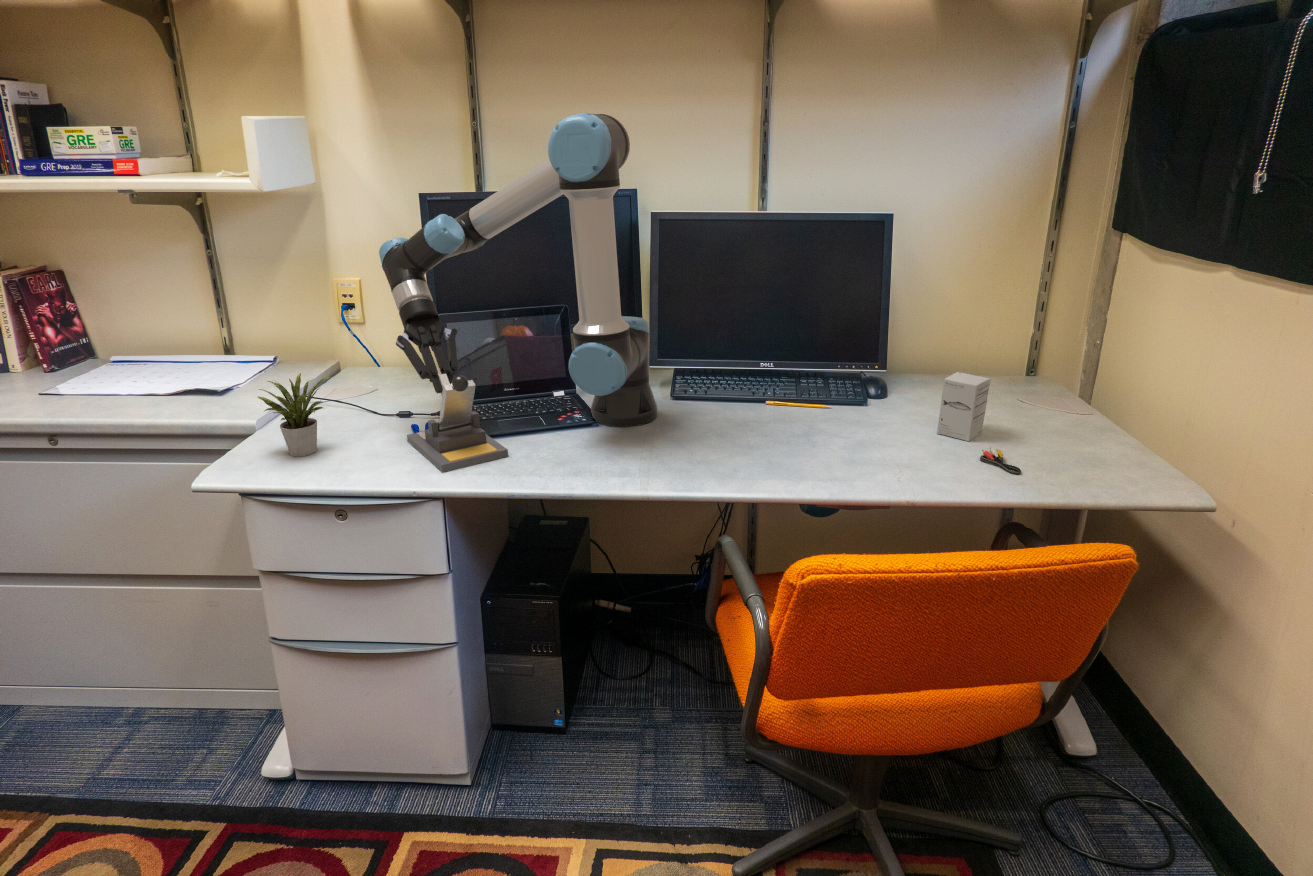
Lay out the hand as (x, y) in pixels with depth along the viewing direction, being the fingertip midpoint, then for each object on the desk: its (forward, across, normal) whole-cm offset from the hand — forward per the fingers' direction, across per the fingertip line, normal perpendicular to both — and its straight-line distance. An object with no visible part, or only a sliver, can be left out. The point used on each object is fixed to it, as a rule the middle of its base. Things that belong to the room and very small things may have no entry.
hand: (451, 404), depth 166 cm
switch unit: (+7, -1, -7) cm, 10 cm away
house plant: (-5, +25, -21) cm, 33 cm away
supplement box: (+43, -93, +33) cm, 108 cm away
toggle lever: (+3, -1, -4) cm, 4 cm away
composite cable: (+54, -85, +44) cm, 110 cm away
